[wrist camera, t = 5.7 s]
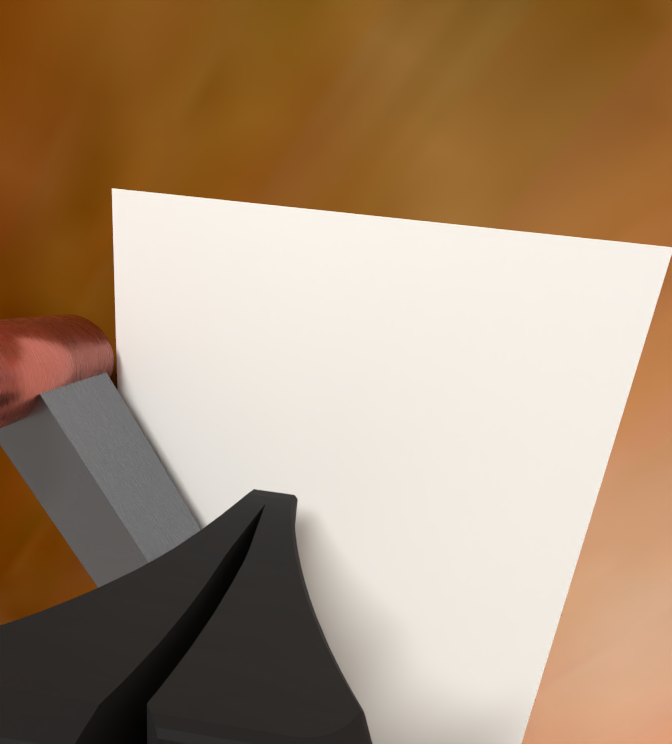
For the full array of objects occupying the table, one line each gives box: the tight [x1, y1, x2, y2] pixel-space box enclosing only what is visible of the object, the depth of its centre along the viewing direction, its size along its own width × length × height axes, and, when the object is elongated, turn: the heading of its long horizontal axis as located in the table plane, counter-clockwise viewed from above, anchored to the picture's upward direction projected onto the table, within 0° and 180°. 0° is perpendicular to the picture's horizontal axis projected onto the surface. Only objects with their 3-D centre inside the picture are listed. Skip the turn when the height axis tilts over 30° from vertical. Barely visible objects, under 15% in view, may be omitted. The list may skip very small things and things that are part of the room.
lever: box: [0, 314, 201, 588], centre depth 11 cm, size 21×4×5 cm, turn 25°
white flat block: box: [112, 188, 672, 744], centre depth 12 cm, size 16×22×4 cm
